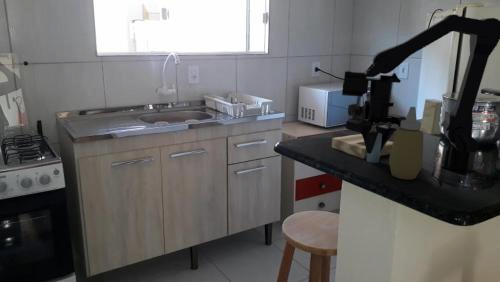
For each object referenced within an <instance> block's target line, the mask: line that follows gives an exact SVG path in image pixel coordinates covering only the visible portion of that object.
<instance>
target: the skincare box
mask: <svg viewBox="0 0 500 282" xmlns="http://www.w3.org/2000/svg"><path fill="white" fill-rule="evenodd" d="M442 101H443V100H440V99H436V98H435V99H432V98H431V99H429V98H426V99H424V106H423V112H422V116H421V121H420V123H421V127H420V129H419V130H420V131H422V132H423V133H425V134H428V135H432V136H433V135H434V136H435V134H436V135H441V131H440V127H439V122H440V114H441V107H442Z"/></svg>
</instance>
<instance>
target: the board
mask: <svg viewBox="0 0 500 282" xmlns="http://www.w3.org/2000/svg"><path fill="white" fill-rule="evenodd" d="M331 140H332V141H331V148H332V149H336V150H338V151H341V152H344V153H346V154H349V155H352V156H355V157H357V158H360V159H362V160H366V159H367V150H366V146H365V142H364V139H363V136H362V134H361V133H359V134H353V135H346V136H345V135H344V136H337V137H332V138H331ZM392 145H393V141H390V140H388V141H387V143H386V144H385V146H384V147H383V149H382V150H381V152H380V157H382V155H383V156H387V155H390V153H391V149H392Z"/></svg>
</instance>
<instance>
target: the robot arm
mask: <svg viewBox="0 0 500 282" xmlns="http://www.w3.org/2000/svg"><path fill="white" fill-rule="evenodd" d="M451 32H452V33H453V32H455V33H459V34H463V35H468V36H469V57H468V60H467V63H466V67H465V69H464V73H463V78H462V80H461V84H460V88H459V91H458V95H457V98H456V102H455V106H454V107H453V109H452V110H451V112H449V111H444V115H443V121H442V124H441V128H442V133H443V134H444V135H445V137H446V138H447V139H448V140H449V143H450V144H448V146H447V149H446V150H445V155H444V159H443V160H444V161H443V164H442V165H441V168H443V169H446V170H449V171H452V172H456V173H459V174H462V175H464V174H468V173H471V172H476V171H477V168H476V167H474V166H475V161H476V155H477V152H478V149H479V148H480V144H479V143H478V142H477V140H475V138H474V137H473V136H472V134H473V128H474V125H473V124H474V122H473V120H474V118H473V111H474V106H475V103H476V100H477V97H478V93H479V91H480V90H479V89H480V86H481V83H482V81H483V77H484V73H485V70H486V67H487V64H488V62H489V61H488V60H489V57H490V55H491V54H492V52H493V51H494V50H495V48H497V45H498V43H499V42H500V19H497V18H495V17H488V18H487V17H486V18H481V19H477V18H473V17H467V16H461V15H459V14H449V15H446V16H445V17H444V18H442V19H441V20H440V21H439V20H438V21H437V22H436V23H434V24H432V25H431V26H429V27H428V28H426V29H424V30H422V31H420V32H419V33H417V34H415V35H414V36H412V37H409V39H407V40H405V41H404V42H402V43H399V44H396V45H393V46H391V47H388V48H385V49H383V50H380V51H378V52H376V54H375V55H374V56H373V58H372V63H371V64H370V66H369V67H367V68H366V70H365V71H364V72H363V71H362V72H361V71H351V70H345V71H344V78H343V83H342V93H341V95H342V96H343V97H344V96H345V97H346V96H347V97H359V98H360V97H363V96H364V95H366V94H368V90H369V95H368V99H367V100H364V105H361V106H359V105H358V104H357V103H352V104H349V105H348V108H347V114H348V116H349V117H352V118H348V119H347V120H346V121H345V129H346V130H349V131H353V132H356V133H359V134H362V136H363V139H364V142H365V146H366V150H367V153H369V154H371V152H372V150H373V147H374V144H375V141H376V138H377V135H378V133H381V134H382V142H381V150H382V149H383V147H384V146H385V144H386V143H387V141H390V139H391V137H392V136H393V134H395V132H396V130H397V129H398V128H401V127H400V125H401V121H402V120H406V117H407V116H404V115H400V114H395V113H390V110H391V109H390V108H391V107H394V106H395V105H394V104H395V102H392V101H391V100H392V93H393V86H394V85H393V83H395V84H396V83H397V84H399V83H401V81H402V80H401V79H400V78H399V77H398V76H397V73H396V72H393V73H392V71H394V70H396V69H397V68H398V67H399V66H400V65H401V64H403V62H405V61H406V60H407V59H408V58H409V57H410V56H412V55H413V54H415V53H417V52H418V51H420V50H422V49H424V48H426V47H428V46H429V45H431V44H432V43H434V42H436V41H438V40H440V39H441V38H444V37H445V36H446V35H448V34H451ZM389 73H392V74H391V75H387V74H389ZM378 75H379V77H376V76H378ZM369 82H370V85H369ZM369 86H370V88H369ZM394 125H397V126H398V128H395V127H394ZM381 150H380V152H381Z"/></svg>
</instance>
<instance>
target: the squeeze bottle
mask: <svg viewBox="0 0 500 282" xmlns="http://www.w3.org/2000/svg"><path fill="white" fill-rule="evenodd" d="M416 109H417V108H416V107H415V106H410V107H409V110H408V113H407V115H406V116H405V117H406V120H402V121H401V125H400V127H401V128H400V127H398V128H396V129H397V130H396V131H395V132H394V137H393V141H392V142H393V145H392V149H391V153H390V154H389V157H388V163H389V168H390V173H391V175H392V177H395V178H397V179H401V180H408V181H409V180H414V179H416V178H417V176H418V174H419V173H420V170H421V168H422V167H423V161H424V160H423V157H424V132H422V131H420V128H421V121H417V110H416Z"/></svg>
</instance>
